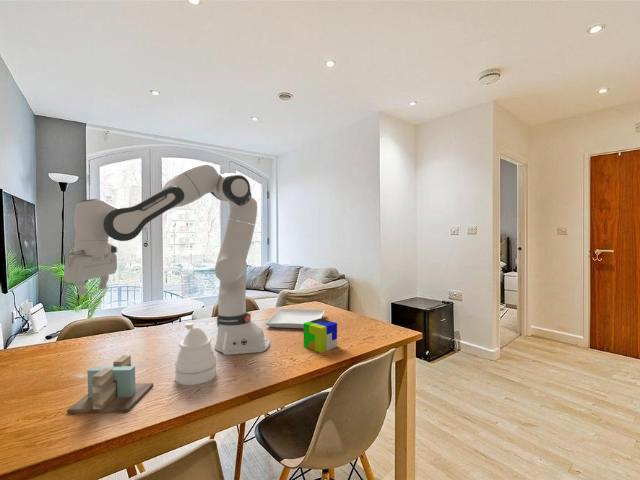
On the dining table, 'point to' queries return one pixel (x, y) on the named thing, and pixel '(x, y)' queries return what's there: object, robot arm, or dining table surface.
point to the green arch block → (123, 377)
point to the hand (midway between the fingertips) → (93, 291)
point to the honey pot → (195, 358)
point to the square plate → (293, 318)
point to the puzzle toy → (320, 335)
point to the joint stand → (109, 393)
